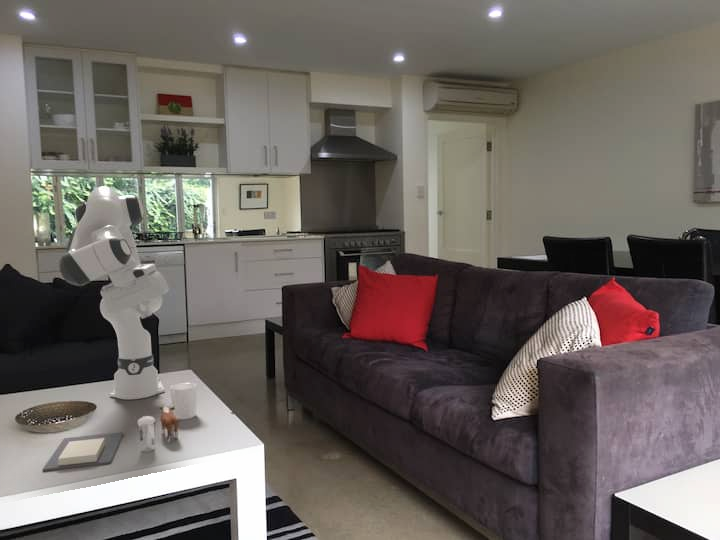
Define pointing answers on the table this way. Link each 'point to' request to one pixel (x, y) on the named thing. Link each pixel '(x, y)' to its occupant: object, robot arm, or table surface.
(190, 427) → the table surface
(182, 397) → the white cup
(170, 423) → the bull figurine
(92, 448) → the tile
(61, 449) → the mat
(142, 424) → the milkshake
